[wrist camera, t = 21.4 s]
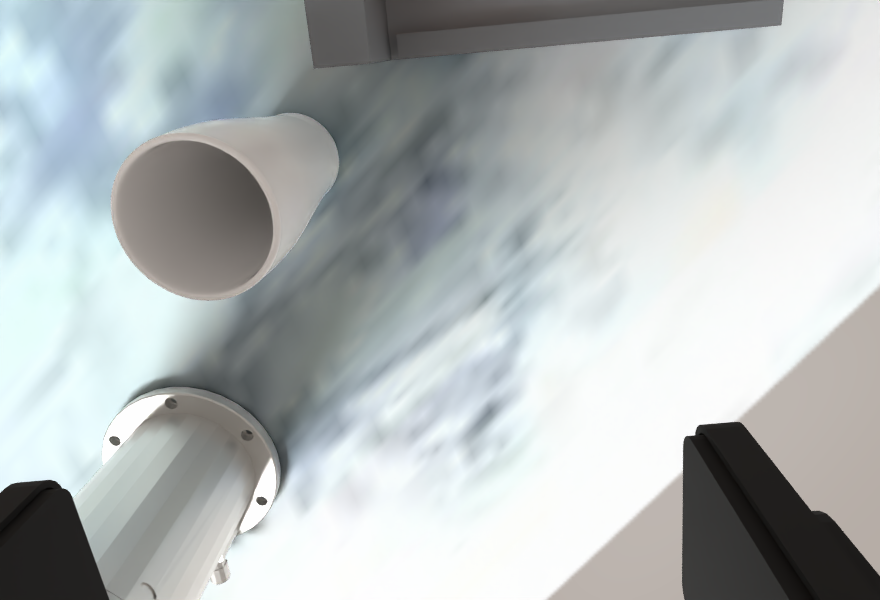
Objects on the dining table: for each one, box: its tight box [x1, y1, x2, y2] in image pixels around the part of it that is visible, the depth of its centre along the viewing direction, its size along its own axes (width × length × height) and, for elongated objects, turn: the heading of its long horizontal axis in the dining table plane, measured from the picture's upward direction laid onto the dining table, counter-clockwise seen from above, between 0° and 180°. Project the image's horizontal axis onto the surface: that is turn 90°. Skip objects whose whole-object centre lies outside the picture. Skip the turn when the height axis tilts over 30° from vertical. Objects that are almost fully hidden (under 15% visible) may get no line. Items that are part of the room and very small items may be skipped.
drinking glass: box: [111, 113, 339, 301], centre depth 32 cm, size 7×7×15 cm
